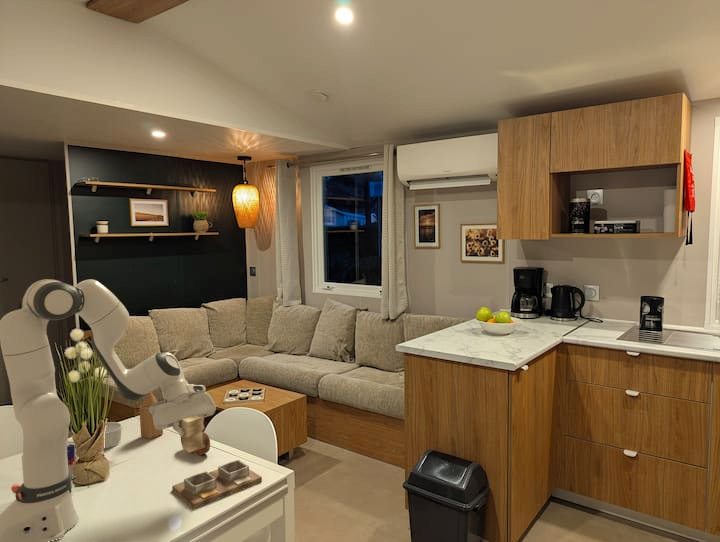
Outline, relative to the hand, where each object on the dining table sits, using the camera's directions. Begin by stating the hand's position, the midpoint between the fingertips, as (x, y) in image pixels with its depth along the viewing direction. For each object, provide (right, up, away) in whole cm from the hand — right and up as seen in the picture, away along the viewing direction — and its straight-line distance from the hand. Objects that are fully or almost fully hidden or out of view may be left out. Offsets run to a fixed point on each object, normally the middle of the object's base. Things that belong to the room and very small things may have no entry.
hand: (192, 432), depth 164 cm
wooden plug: (0, -5, +1) cm, 5 cm away
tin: (-9, -18, +32) cm, 37 cm away
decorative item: (-33, -17, +49) cm, 62 cm away
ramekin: (-49, -18, +41) cm, 67 cm away
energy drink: (-47, -20, +13) cm, 53 cm away
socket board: (+7, -19, +4) cm, 21 cm away
